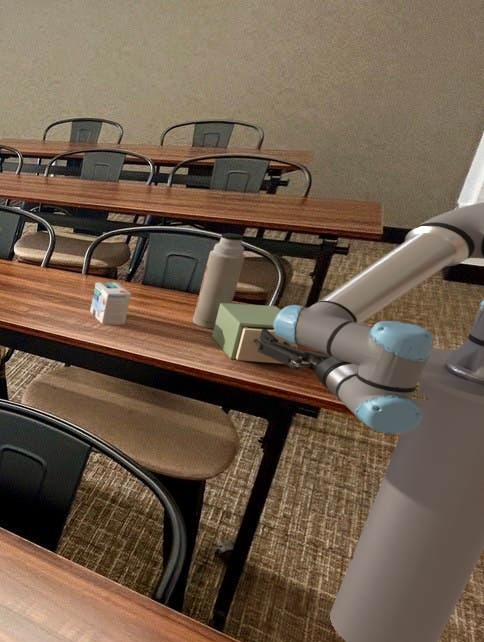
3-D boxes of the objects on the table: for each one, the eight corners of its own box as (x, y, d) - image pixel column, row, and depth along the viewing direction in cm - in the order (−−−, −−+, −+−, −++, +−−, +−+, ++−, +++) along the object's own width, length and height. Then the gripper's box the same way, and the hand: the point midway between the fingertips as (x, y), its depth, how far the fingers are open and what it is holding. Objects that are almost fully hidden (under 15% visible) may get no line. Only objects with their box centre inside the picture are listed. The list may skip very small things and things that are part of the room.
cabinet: (290, 364, 149) (301, 327, 146) (230, 359, 154) (239, 322, 150) (266, 340, 162) (276, 306, 158) (212, 336, 167) (220, 302, 163)
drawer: (301, 373, 143) (311, 341, 140) (244, 368, 147) (252, 337, 144) (269, 342, 159) (277, 313, 156) (219, 338, 163) (226, 310, 160)
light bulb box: (89, 312, 188) (94, 281, 184) (111, 312, 187) (118, 281, 183) (101, 325, 178) (107, 293, 174) (125, 326, 177) (132, 293, 173)
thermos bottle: (187, 322, 176) (209, 234, 166) (199, 316, 180) (222, 229, 169) (218, 331, 169) (243, 240, 159) (230, 324, 173) (255, 235, 163)
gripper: (266, 387, 122) (229, 345, 140) (425, 404, 113) (364, 356, 131) (276, 356, 119) (237, 317, 137) (439, 370, 110) (374, 326, 128)
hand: (299, 336), depth 134 cm, fingers open, 13 cm apart
